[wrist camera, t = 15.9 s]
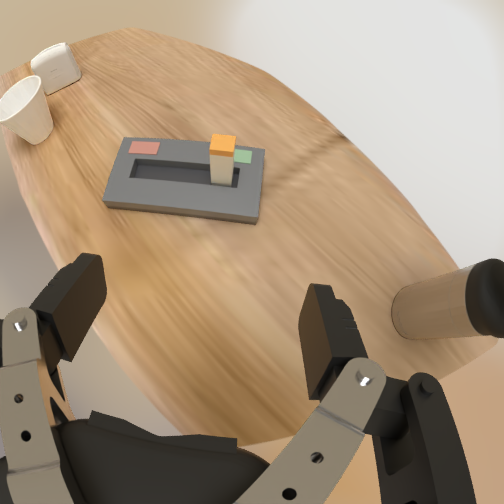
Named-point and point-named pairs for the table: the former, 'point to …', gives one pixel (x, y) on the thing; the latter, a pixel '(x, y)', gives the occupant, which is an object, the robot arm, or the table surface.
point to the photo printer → (56, 67)
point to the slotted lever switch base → (183, 180)
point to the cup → (27, 110)
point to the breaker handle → (222, 159)
